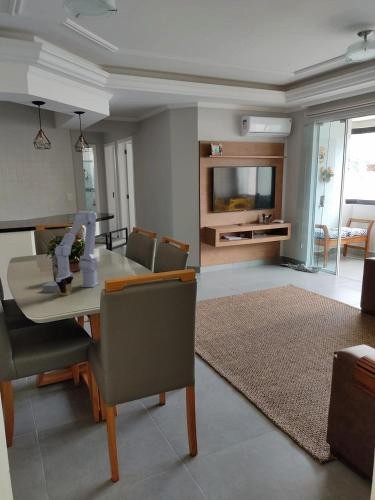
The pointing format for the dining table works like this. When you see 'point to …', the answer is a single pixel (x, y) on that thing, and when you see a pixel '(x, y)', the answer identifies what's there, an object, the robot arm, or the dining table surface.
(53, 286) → the slate block
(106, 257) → the dining table surface
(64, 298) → the dining table surface
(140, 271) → the dining table surface
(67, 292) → the oak cube
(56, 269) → the coffee box
